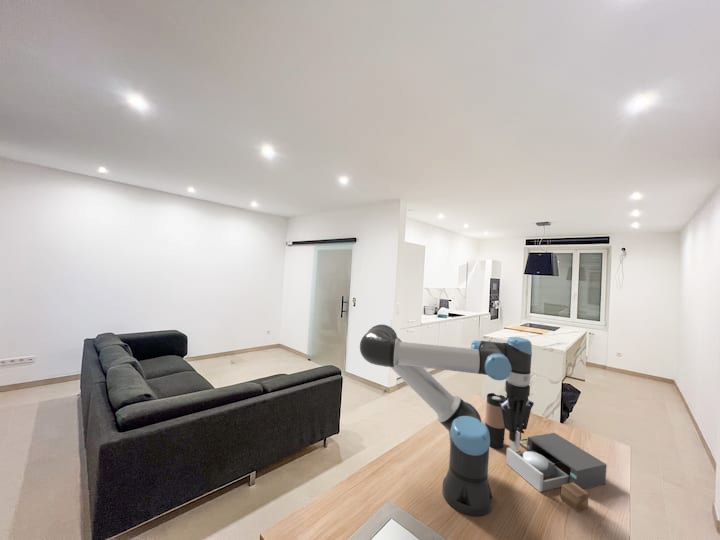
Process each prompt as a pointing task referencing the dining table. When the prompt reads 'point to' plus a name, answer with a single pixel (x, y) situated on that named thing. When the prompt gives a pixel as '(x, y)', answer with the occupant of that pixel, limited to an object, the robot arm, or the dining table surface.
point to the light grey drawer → (536, 472)
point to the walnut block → (574, 496)
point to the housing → (571, 459)
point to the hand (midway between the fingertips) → (514, 449)
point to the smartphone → (548, 456)
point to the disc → (536, 460)
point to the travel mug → (495, 420)
